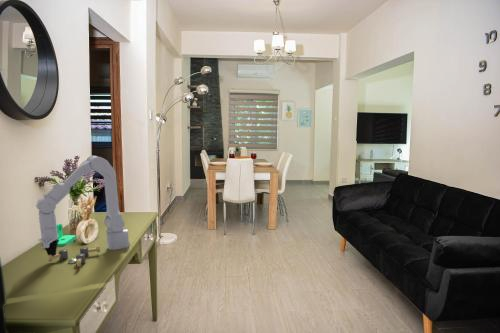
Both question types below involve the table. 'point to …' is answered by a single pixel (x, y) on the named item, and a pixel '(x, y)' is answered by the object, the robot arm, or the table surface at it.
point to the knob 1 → (59, 255)
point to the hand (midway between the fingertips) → (52, 258)
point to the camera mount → (64, 236)
